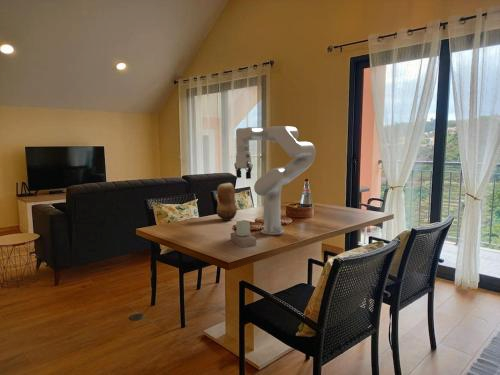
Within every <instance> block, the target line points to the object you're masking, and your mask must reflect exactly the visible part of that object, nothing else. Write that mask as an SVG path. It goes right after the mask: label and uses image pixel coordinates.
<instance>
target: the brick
mask: <svg viewBox="0 0 500 375" xmlns="http://www.w3.org/2000/svg"><path fill="white" fill-rule="evenodd" d="M230 241H231V242H233V243H234V244H236V245H238V246H239V247H241V248H247V247H256V246H257V238H256V237H255V236H253V235H251V234H250V235H247V236H240V235H237V231H234V232H230Z"/></svg>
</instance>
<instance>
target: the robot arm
mask: <svg viewBox="0 0 500 375" xmlns="http://www.w3.org/2000/svg"><path fill="white" fill-rule="evenodd" d="M299 133H300V132H299V131H298V129H297V128H296V127H294V126H290V125H289V126H288V125H282V126H280V125H278V126H276V125H273V126H272V125H271V126H269V127H261V126H259V127H258V126H256V127H254V126H252V127H251V126H249V127H242V128H241V127H238V128H237V129H236V130H235V139H236V140H235V143H236V144H235V145H236V155H235V163H234V168H235V171H236V178H237V179H240V178H242V171H241V170H243V169H245V171H246V172H245V179H246V180H249V179H251V178H252V173H251V172H252V170H253V166H254V164H253V162H252V157H251V152H250V141H269V142H271V143H277V144H278V145H279V146H280V147H281V148H282V149H283V151H284V152H285V153H286V154H287V155H288V156H289V158H290V157H291V158H292V159H291V160H290V161H289V162H288V163H287V164H285V165H284V166H281V167H275V168H274V167H273V168H272V169H270V170H268V171H267V172H265V173H264V174H263V175H262V176H260V177H259V178H258V179H257V180H256V181H255V183H254V186H253V190H254V192H255V194H256V195H257V196H260V197H264V198H263V229H261V234H263V235H270V236H274V235H275V236H277V235H282V234H283V233H284V231H285V228H284V227H283V226H282V224H281V222H282V220H281V218H282V216H281V215H282V214H281V198H282V196H281V195H282V189H283V185H288V184H289V183H290V182H292V181H293V180H294V179H296V178H297V177H299V175H301V174H302V173H304V172H305V171H306V170H307V169H309V168H310V167H311V166H312V165H313V163H314V161H315V159H316V154H317V152H316V147H315V145H314V144H313V143H312V142H310V141H305V140H304V141H303V140H302V141H297V140H298V138H299V135H300V134H299Z"/></svg>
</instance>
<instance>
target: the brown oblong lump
mask: <svg viewBox="0 0 500 375" xmlns="http://www.w3.org/2000/svg"><path fill="white" fill-rule="evenodd" d="M217 199H218V204H217V206H216V215H217V216H218V218H220V219H222V220H223V221H230V220H233V219H234V218H235V216H236V215H237V210H238V208H237V204H236V200H235V199H236V192H235V186H234V184H233V183H231V182H225V183H221V184H219V185H218V186H217Z"/></svg>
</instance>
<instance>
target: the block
mask: <svg viewBox="0 0 500 375" xmlns="http://www.w3.org/2000/svg"><path fill="white" fill-rule="evenodd" d="M235 225H236V232H237V235H240V236H247V235H250V236H251V221H249V220H246V219H242V220H237V221H236V224H235Z"/></svg>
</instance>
